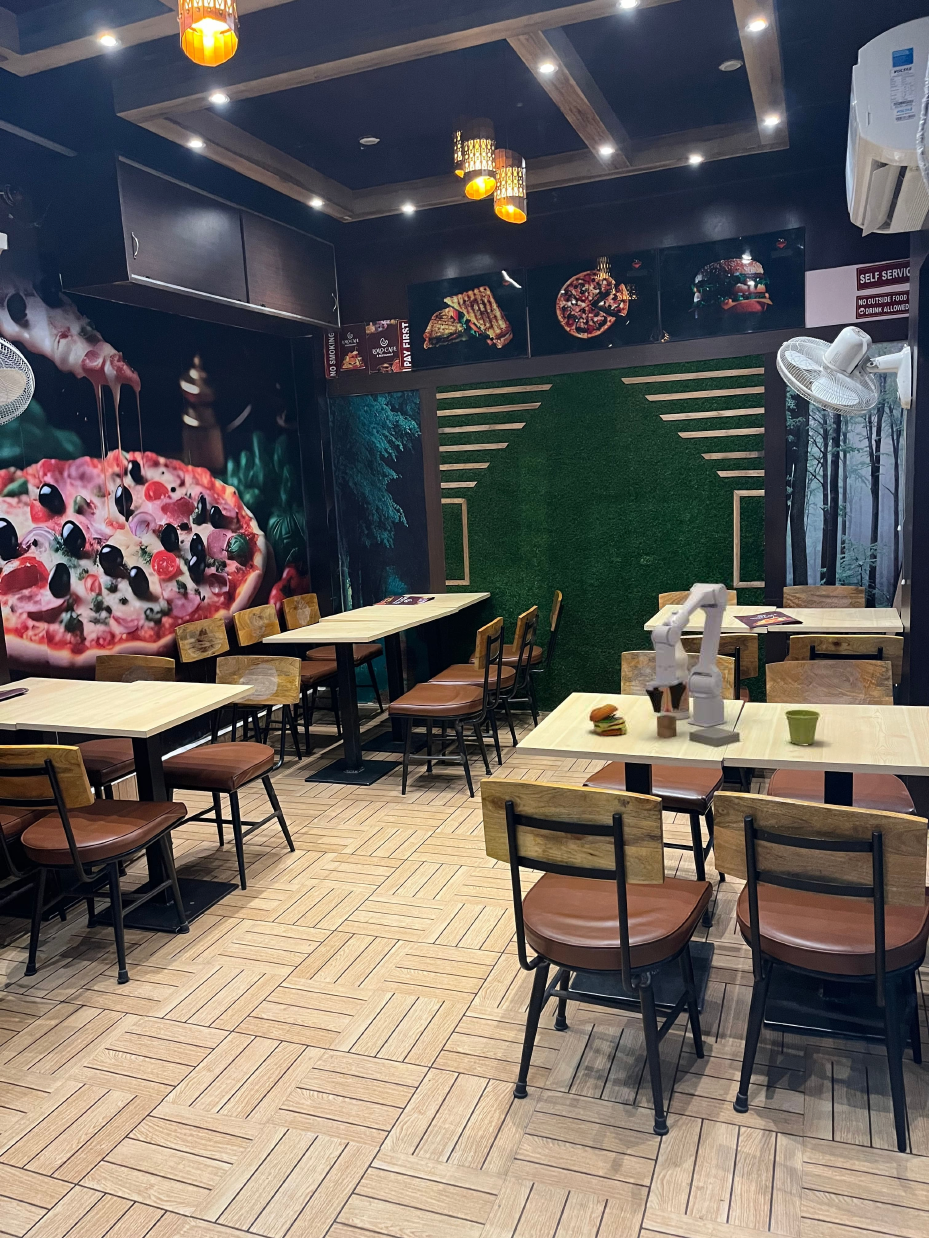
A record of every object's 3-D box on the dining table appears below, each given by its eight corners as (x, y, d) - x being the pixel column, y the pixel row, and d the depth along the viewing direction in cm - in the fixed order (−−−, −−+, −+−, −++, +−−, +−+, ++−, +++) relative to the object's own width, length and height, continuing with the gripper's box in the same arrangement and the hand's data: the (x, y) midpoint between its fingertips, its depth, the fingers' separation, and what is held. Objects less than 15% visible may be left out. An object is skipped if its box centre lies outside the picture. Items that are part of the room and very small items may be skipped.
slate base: (713, 736, 268) (712, 726, 268) (739, 742, 260) (739, 732, 259) (689, 742, 263) (689, 732, 262) (715, 748, 254) (715, 738, 254)
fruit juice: (654, 717, 293) (652, 632, 290) (670, 712, 299) (669, 629, 296) (678, 721, 286) (677, 634, 283) (695, 716, 293) (693, 631, 289)
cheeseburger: (621, 738, 268) (612, 705, 268) (589, 743, 274) (581, 711, 274) (633, 729, 277) (624, 698, 277) (602, 735, 283) (593, 704, 283)
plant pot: (823, 747, 249) (823, 716, 248) (787, 747, 251) (788, 716, 250) (816, 738, 259) (816, 709, 258) (782, 738, 260) (782, 709, 259)
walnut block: (666, 733, 271) (666, 714, 271) (676, 736, 268) (676, 716, 267) (657, 736, 269) (656, 716, 269) (667, 738, 266) (666, 718, 265)
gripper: (657, 670, 259) (658, 716, 261) (693, 664, 267) (693, 709, 268) (640, 667, 265) (641, 712, 266) (675, 661, 273) (675, 705, 274)
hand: (666, 710), depth 268 cm, fingers open, 7 cm apart
